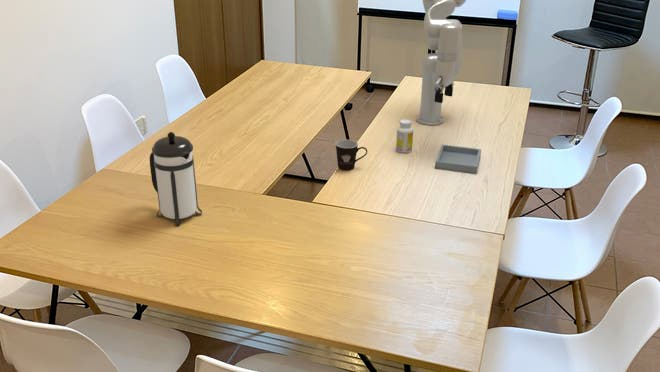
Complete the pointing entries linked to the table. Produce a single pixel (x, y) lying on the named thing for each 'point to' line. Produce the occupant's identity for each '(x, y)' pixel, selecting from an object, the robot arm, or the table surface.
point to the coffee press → (174, 177)
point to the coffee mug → (347, 154)
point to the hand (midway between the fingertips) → (443, 99)
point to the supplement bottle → (404, 137)
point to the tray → (458, 159)
